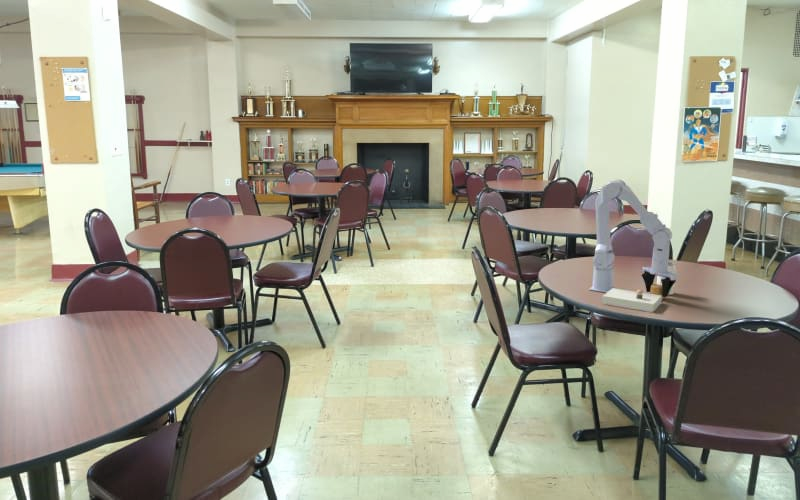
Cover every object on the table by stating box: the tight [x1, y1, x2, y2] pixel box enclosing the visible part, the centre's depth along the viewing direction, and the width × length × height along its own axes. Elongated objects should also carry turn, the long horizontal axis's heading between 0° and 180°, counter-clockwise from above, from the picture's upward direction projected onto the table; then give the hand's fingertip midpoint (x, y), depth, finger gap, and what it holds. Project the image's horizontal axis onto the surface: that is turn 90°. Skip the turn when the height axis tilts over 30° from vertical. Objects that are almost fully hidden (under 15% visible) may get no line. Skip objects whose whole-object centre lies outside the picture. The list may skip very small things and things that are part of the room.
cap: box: [649, 283, 664, 301], centre depth 242 cm, size 5×5×5 cm
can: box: [656, 261, 677, 296], centre depth 249 cm, size 6×6×12 cm
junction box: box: [601, 287, 663, 313], centre depth 234 cm, size 14×18×6 cm
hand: (656, 294), depth 242 cm, fingers open, 7 cm apart
